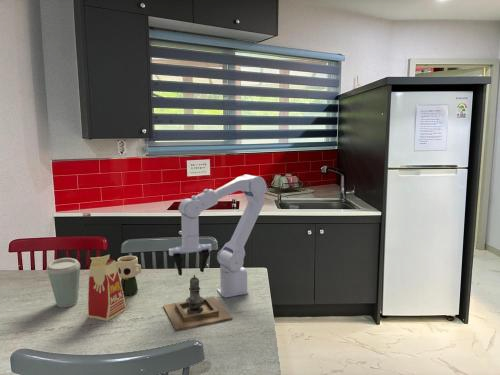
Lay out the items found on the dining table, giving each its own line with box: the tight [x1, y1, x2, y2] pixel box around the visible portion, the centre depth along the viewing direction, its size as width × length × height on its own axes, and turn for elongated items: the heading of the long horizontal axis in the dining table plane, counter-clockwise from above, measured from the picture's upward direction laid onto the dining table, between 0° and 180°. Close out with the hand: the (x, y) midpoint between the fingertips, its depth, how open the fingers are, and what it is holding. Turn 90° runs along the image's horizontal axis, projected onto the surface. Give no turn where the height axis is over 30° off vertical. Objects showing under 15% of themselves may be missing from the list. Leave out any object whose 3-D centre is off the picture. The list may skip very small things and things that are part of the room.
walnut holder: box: [162, 295, 233, 332], centre depth 130 cm, size 18×18×2 cm
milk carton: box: [87, 254, 127, 322], centre depth 129 cm, size 9×9×20 cm
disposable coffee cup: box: [46, 257, 81, 308], centre depth 136 cm, size 11×11×15 cm
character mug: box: [115, 255, 142, 296], centre depth 146 cm, size 11×7×13 cm, turn 71°
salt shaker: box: [185, 274, 205, 314], centre depth 130 cm, size 6×6×12 cm
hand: (191, 272), depth 137 cm, fingers open, 7 cm apart
